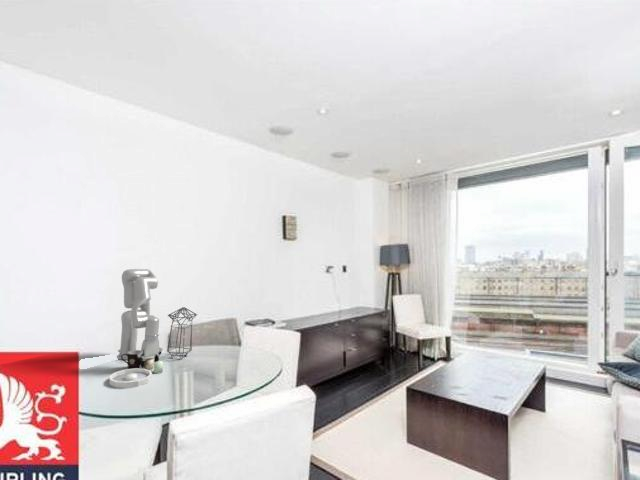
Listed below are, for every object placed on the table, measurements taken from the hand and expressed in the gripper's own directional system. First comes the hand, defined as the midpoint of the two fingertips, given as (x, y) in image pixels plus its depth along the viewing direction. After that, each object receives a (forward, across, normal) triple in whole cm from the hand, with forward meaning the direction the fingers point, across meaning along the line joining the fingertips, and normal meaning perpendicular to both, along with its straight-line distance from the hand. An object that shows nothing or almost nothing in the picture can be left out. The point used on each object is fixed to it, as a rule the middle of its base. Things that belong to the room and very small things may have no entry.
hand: (149, 364), depth 214 cm
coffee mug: (+3, +5, -10) cm, 11 cm away
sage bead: (+3, 0, +8) cm, 9 cm away
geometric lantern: (+3, -27, -5) cm, 28 cm away
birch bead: (+3, 0, -1) cm, 3 cm away
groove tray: (+3, +17, +7) cm, 19 cm away
